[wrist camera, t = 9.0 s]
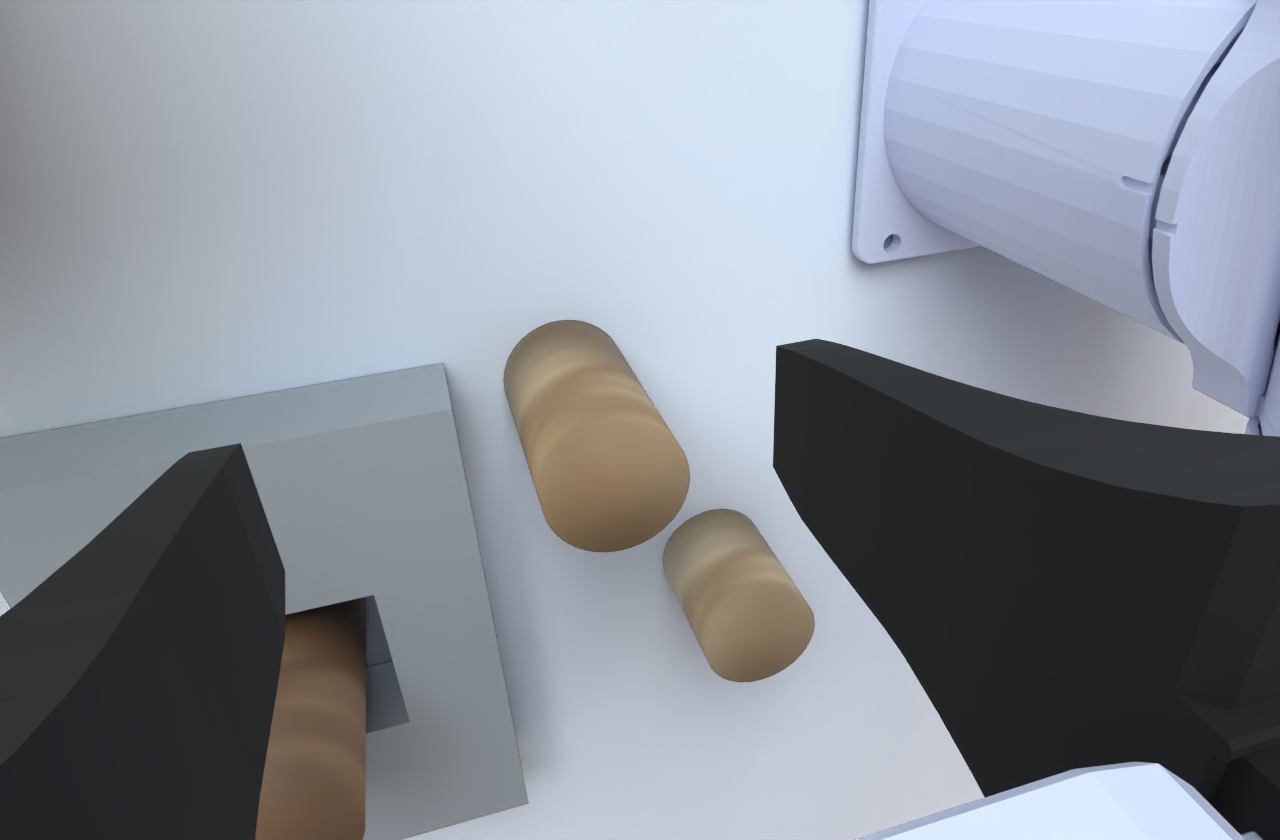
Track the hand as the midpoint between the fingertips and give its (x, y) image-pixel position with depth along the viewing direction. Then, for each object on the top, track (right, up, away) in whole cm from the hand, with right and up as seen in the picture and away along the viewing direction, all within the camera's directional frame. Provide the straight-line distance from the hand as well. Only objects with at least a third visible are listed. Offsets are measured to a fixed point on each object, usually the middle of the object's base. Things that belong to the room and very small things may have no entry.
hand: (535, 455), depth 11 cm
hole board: (-8, -5, +12) cm, 15 cm away
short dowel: (+4, -4, +15) cm, 16 cm away
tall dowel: (-8, -5, +12) cm, 15 cm away
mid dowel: (-1, +2, +11) cm, 11 cm away
